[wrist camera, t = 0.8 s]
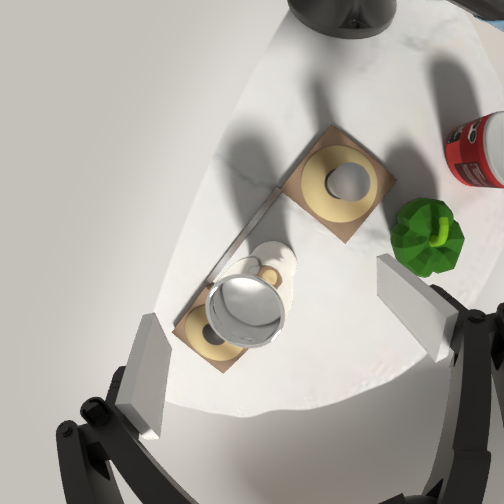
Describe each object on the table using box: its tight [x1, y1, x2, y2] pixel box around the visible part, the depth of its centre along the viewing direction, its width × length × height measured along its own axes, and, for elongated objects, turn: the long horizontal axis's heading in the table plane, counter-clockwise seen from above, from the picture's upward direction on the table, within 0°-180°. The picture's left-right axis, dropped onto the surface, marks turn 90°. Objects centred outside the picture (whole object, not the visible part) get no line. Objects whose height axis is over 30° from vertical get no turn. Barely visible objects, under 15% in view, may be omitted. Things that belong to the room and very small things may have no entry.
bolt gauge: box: [172, 125, 397, 373], centre depth 31 cm, size 36×11×13 cm, turn 142°
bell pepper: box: [390, 198, 465, 278], centre depth 27 cm, size 8×8×10 cm
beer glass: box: [206, 241, 297, 348], centre depth 30 cm, size 7×7×15 cm
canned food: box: [445, 111, 504, 188], centre depth 23 cm, size 8×8×11 cm
